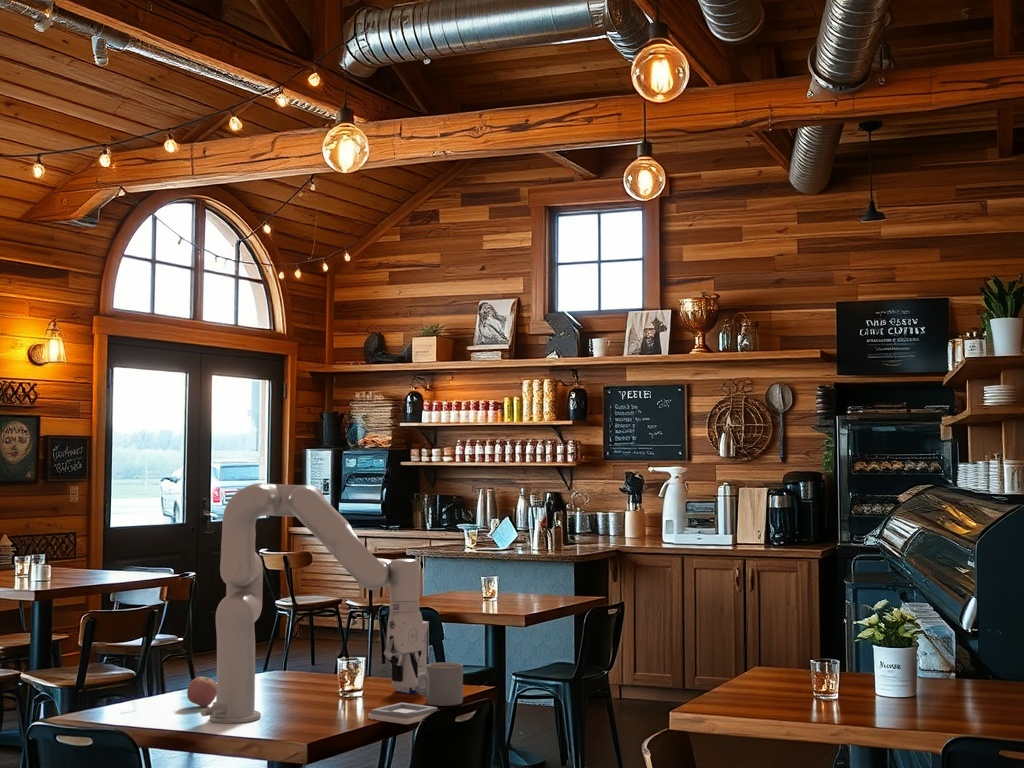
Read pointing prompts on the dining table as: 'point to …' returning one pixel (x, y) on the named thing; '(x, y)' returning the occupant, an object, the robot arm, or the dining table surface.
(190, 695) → the apple
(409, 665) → the flask
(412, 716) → the socket board
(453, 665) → the coffee mug
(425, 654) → the milk carton
